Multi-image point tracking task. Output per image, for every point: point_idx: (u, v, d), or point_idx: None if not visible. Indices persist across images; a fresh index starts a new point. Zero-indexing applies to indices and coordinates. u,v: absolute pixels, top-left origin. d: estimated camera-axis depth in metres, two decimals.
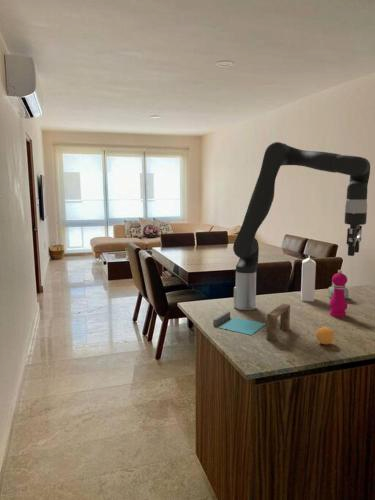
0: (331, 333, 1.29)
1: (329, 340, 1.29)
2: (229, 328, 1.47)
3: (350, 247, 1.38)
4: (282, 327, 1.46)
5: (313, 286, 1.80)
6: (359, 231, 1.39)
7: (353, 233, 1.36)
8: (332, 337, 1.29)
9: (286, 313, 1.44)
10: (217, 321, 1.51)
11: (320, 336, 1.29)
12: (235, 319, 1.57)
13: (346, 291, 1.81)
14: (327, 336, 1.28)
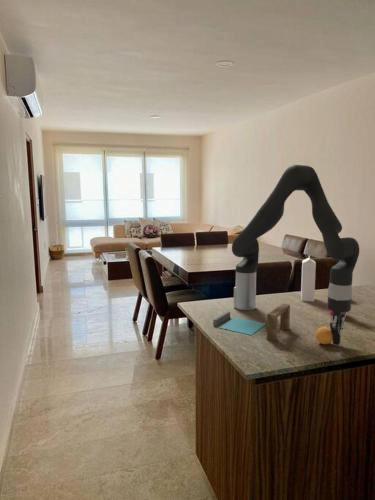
0: (330, 333, 1.29)
1: (328, 340, 1.29)
2: (229, 328, 1.47)
3: (335, 336, 1.29)
4: (282, 327, 1.46)
5: (313, 286, 1.80)
6: (343, 319, 1.26)
7: (337, 328, 1.24)
8: (331, 337, 1.29)
9: (286, 313, 1.44)
10: (217, 321, 1.51)
11: (320, 335, 1.30)
12: (235, 319, 1.57)
13: None
14: (326, 336, 1.29)
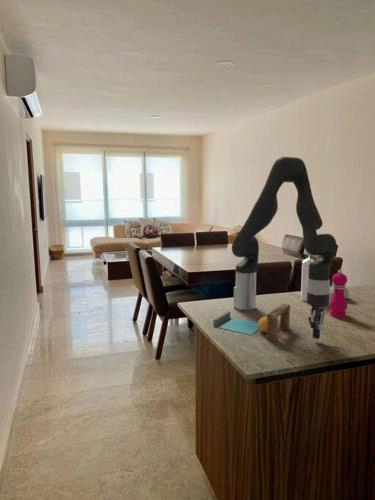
0: None
1: None
2: (229, 328, 1.47)
3: (315, 330, 1.32)
4: (282, 327, 1.46)
5: None
6: (321, 313, 1.30)
7: (315, 322, 1.27)
8: None
9: (286, 313, 1.44)
10: (217, 321, 1.51)
11: (260, 326, 1.41)
12: (235, 319, 1.57)
13: (346, 291, 1.81)
14: (264, 323, 1.40)
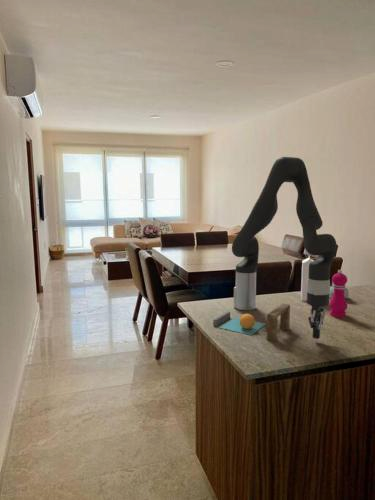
0: None
1: (240, 321, 1.46)
2: (229, 328, 1.47)
3: (315, 330, 1.32)
4: (282, 327, 1.46)
5: None
6: (321, 313, 1.30)
7: (315, 322, 1.27)
8: None
9: (286, 313, 1.44)
10: (217, 321, 1.51)
11: (246, 326, 1.44)
12: (235, 319, 1.57)
13: (346, 291, 1.81)
14: (241, 325, 1.45)
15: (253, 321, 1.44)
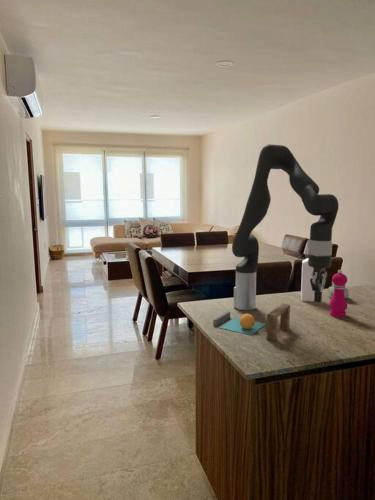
0: None
1: (240, 321, 1.46)
2: (229, 328, 1.47)
3: (316, 293, 1.30)
4: (282, 327, 1.46)
5: None
6: (323, 275, 1.27)
7: (317, 284, 1.25)
8: None
9: (286, 313, 1.44)
10: (217, 321, 1.51)
11: (246, 326, 1.44)
12: (235, 319, 1.57)
13: (346, 291, 1.81)
14: (241, 325, 1.45)
15: (253, 321, 1.44)
